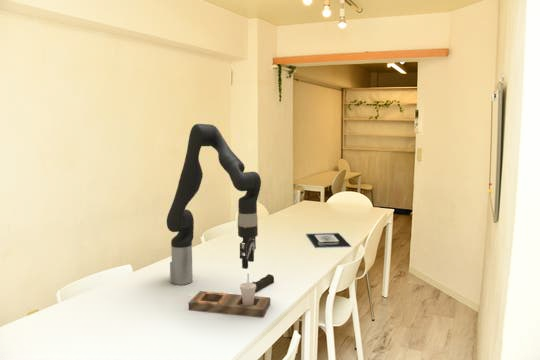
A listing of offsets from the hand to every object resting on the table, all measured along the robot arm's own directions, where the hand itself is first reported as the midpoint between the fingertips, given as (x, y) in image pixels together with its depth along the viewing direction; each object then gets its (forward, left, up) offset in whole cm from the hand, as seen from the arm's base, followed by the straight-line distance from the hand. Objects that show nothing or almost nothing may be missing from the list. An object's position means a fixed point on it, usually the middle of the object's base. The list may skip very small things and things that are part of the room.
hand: (248, 264), depth 172 cm
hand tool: (0, +22, -18) cm, 29 cm away
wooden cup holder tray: (-8, 0, -18) cm, 19 cm away
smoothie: (0, 0, -18) cm, 18 cm away
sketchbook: (+20, +108, -19) cm, 111 cm away
